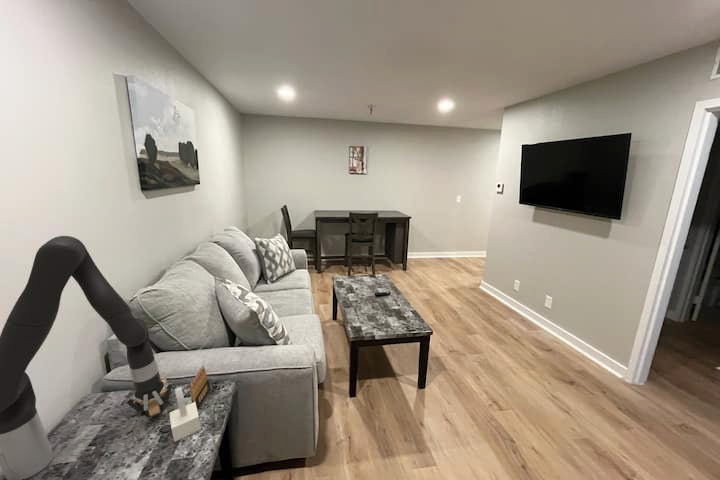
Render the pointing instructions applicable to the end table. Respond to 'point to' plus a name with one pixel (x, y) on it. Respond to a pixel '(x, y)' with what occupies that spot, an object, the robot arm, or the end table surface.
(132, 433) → the end table surface
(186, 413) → the ring stand
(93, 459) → the end table surface
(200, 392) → the ammunition clip
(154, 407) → the oak link
